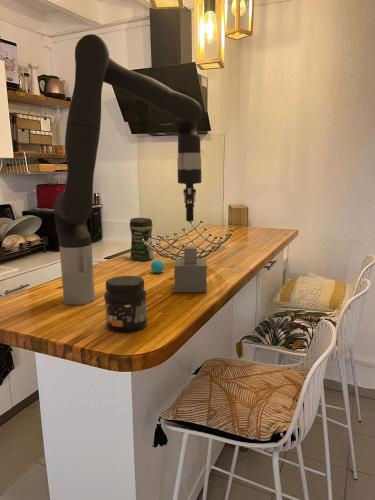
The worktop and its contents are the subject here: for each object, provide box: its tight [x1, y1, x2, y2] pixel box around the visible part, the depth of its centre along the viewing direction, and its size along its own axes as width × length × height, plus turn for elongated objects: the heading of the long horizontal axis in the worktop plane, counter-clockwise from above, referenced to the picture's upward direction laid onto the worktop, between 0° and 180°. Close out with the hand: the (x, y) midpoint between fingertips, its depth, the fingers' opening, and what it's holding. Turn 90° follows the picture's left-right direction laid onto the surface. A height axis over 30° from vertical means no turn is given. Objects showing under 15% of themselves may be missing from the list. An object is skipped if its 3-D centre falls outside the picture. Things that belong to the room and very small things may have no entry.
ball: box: [150, 259, 165, 274], centre depth 151 cm, size 5×5×5 cm
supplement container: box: [103, 275, 148, 333], centre depth 100 cm, size 10×10×12 cm
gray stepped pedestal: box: [174, 245, 208, 294], centre depth 130 cm, size 10×10×14 cm
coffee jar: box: [129, 217, 154, 262], centre depth 172 cm, size 10×8×19 cm
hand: (190, 219), depth 127 cm, fingers open, 8 cm apart
